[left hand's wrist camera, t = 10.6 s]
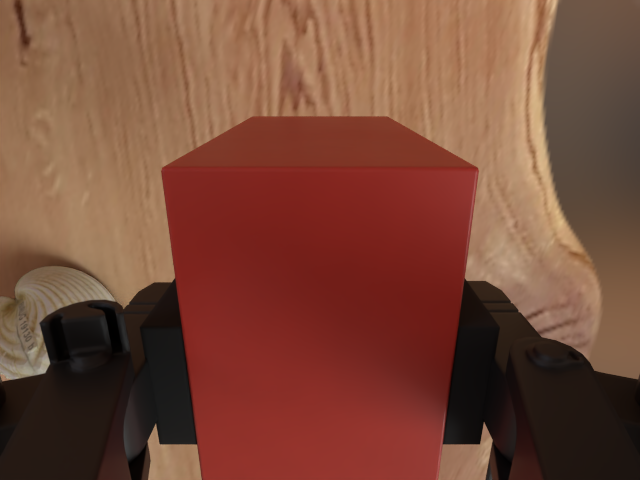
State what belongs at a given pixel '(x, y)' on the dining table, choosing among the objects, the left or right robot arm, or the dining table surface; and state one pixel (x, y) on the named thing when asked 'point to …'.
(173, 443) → the left robot arm
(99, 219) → the dining table surface
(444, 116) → the dining table surface
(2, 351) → the seashell
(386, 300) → the brick
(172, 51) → the dining table surface
